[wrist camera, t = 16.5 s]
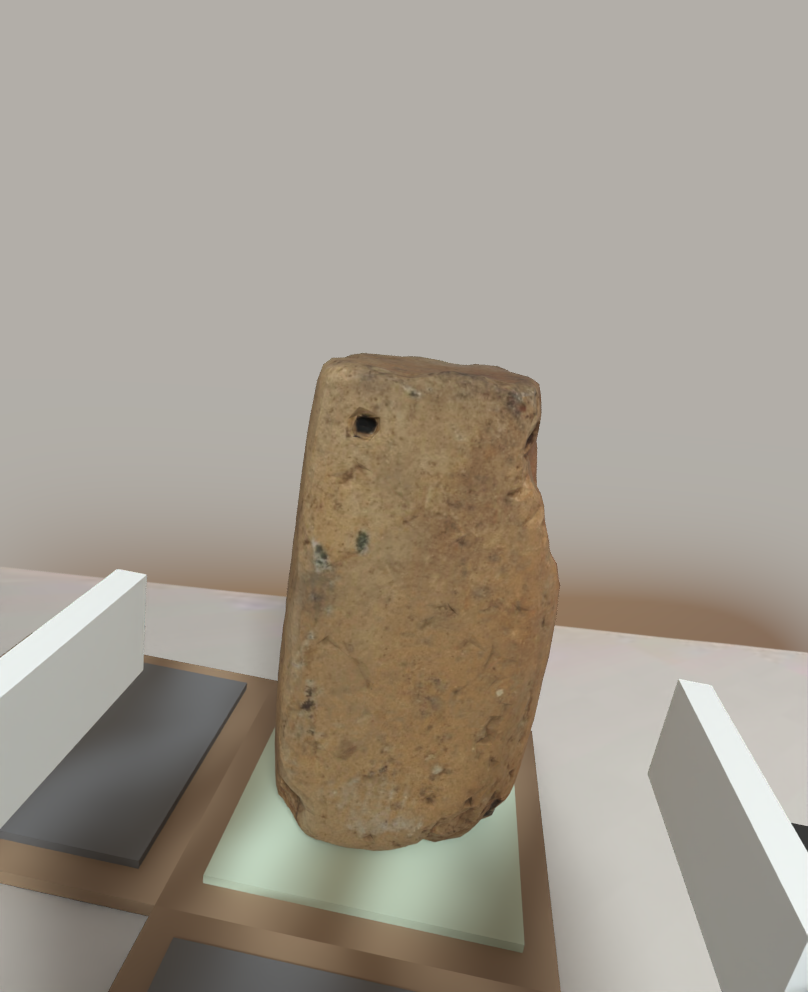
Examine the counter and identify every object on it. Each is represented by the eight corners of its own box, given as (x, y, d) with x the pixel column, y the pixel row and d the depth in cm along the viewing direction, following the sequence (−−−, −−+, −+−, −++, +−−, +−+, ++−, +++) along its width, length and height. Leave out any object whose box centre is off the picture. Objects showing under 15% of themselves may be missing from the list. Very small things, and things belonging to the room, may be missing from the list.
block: (252, 850, 27) (302, 353, 21) (279, 730, 34) (321, 334, 28) (513, 872, 28) (633, 401, 22) (486, 751, 35) (570, 370, 29)
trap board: (-1097, 1509, 11) (-1131, 1481, 11) (32, 641, 40) (32, 626, 40) (669, 2083, 9) (688, 2069, 9) (529, 739, 38) (533, 725, 38)
